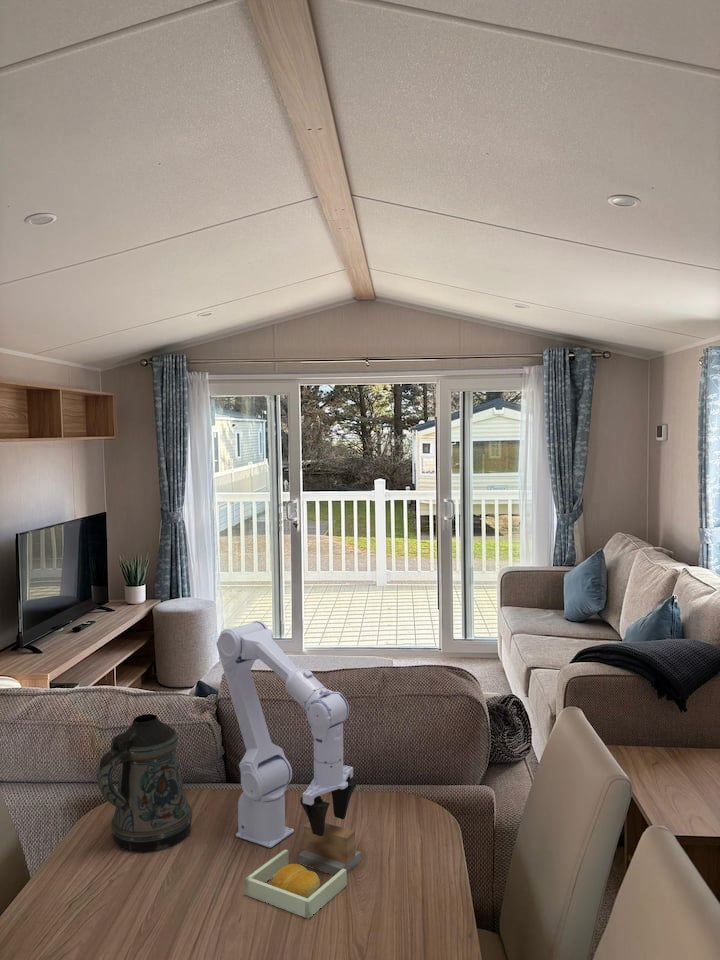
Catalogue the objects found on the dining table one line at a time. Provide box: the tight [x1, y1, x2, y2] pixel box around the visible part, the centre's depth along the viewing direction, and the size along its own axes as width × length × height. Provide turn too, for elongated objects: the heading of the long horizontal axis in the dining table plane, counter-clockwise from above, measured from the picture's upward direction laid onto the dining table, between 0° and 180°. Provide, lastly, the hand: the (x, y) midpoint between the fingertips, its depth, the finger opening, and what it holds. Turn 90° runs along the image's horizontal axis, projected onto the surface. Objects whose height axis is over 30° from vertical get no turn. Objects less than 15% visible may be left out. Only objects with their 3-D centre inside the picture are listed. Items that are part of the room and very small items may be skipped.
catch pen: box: [244, 849, 348, 920], centre depth 148 cm, size 14×12×3 cm
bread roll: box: [270, 863, 321, 899], centre depth 148 cm, size 8×9×4 cm
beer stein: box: [96, 713, 193, 854], centre depth 167 cm, size 16×19×25 cm
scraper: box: [297, 821, 362, 876], centre depth 157 cm, size 10×7×7 cm
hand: (329, 825), depth 157 cm, fingers open, 7 cm apart
